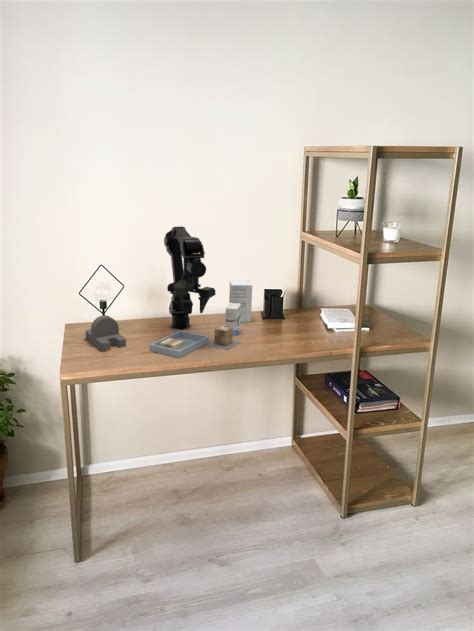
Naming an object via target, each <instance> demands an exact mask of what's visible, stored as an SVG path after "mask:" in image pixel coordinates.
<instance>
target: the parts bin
mask: <svg viewBox="0 0 474 631" xmlns="http://www.w3.org/2000/svg"><path fill="white" fill-rule="evenodd" d="M209 337H210V336H209V335H203V334H198V333H194V332H190V331H184V330H180V329H179V330H178V331H176V332H174V333H172V334H169V335H167V336H165V337H163V338H161V339H158V340H157V341H154V342H152V343H150V344H149V351H150V352H153V353H157V354H160V355H165V356H169V357H173V358H178V359H180V358H182V357H185V356H186V355H188V354H190V353H191V352H194V351H195V350H197V349H200V348H201V347H203V346H206V344H208V343H210V342H209V341H210V340H209ZM169 338H173V339H177V340H182V341H183V349H181V350H174V349H170V348H166V347H162V346H161V343H160V342H163V341H165V340H167V339H169Z"/></svg>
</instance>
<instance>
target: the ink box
mask: <svg viewBox="0 0 474 631" xmlns="http://www.w3.org/2000/svg"><path fill="white" fill-rule="evenodd" d="M240 321H241V304H239V303H228V304H227V306H226V307H225V326H226V327H231V328H233V335H232V336H238V335H239V334H240V332H241V322H240Z"/></svg>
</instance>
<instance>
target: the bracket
mask: <svg viewBox="0 0 474 631" xmlns="http://www.w3.org/2000/svg"><path fill="white" fill-rule="evenodd" d="M90 326H91V327H90V329H89V328H88V329H86V330H85V339H86V341H87V342H89V343H91V344H92V345H93V346H94V347H95V348H97V349H98V350H99V351H101V352H102V353H105V352H107V351H110V350H111V347H115V348H116V347H118V348H119V349H121V348H124V347H126V346H127V341H126V339H127V338H126V337H125V336H123V335H121V334H120V331H119V330H120V328H119V324H118V322H117V320H116V319H114V318H113V317H111V316H109V315H106V314H105V315H100V316H97V317H96V318H95V319H94V320H93V321H92V323H91V325H90Z"/></svg>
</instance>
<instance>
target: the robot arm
mask: <svg viewBox="0 0 474 631" xmlns="http://www.w3.org/2000/svg"><path fill="white" fill-rule="evenodd" d="M163 242H164V243H163V245H164V247H165V250H166V252H167V254H169V256H170V259H171V260H170V262H171V270H172V271H171V272H172V279H173V282H170V283H169V284H168V285H167V287H166V288H167V292H169V294H171V295H172V296H171V300H170V302H169V306H168V312H169V313H168V314H170V315H171V318H172V319H171V322H172V324H171V326H169V328H171V329H177V330H179V331H180V330H181V331H184V330H185V329H187V328H189V327H192V325H191V324H190V316H189V315H192V313H193V305H194V302H193V301H192V300H193V299H191V293H194V294H198V297H197V299H198V300H199V313H200V314H203V312H204V310H205V307H206V306H207V304H208V302H209V301H210V299H211V298H212V297H215V296H216V289H215V287H210V286H204V287H202V288H201V286H202V285H201V283H200V281H199V279H200V278H202V277H203V276H205V274H206V272H207V267H206V265H205V263H204V262H203V261H202V259H205V255H206V253H205V250H204V249H205V248H204V245H203V243H202V241H201V240H200V238H199V237H196V236H192V235H190V232H188V231H187V229H186V227H185V226H173V227H171V230H169V231H168V232H166V233H165V236H164V239H163Z"/></svg>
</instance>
